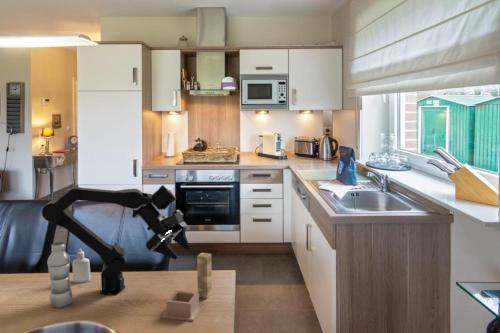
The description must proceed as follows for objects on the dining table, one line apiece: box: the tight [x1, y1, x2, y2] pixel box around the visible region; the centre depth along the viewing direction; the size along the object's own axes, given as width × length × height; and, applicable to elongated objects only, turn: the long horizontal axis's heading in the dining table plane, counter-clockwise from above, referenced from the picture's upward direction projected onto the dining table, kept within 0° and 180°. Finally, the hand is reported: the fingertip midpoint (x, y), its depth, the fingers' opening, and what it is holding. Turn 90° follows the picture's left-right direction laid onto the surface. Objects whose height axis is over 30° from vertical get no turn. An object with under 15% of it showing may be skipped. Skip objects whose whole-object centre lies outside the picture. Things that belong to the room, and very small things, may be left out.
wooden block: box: [196, 252, 213, 299], centre depth 135 cm, size 4×4×14 cm
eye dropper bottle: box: [72, 248, 91, 284], centre depth 147 cm, size 4×6×12 cm
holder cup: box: [160, 290, 205, 322], centre depth 125 cm, size 10×10×5 cm
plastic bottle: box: [46, 241, 74, 308], centre depth 128 cm, size 6×7×20 cm
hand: (183, 254), depth 137 cm, fingers open, 9 cm apart
